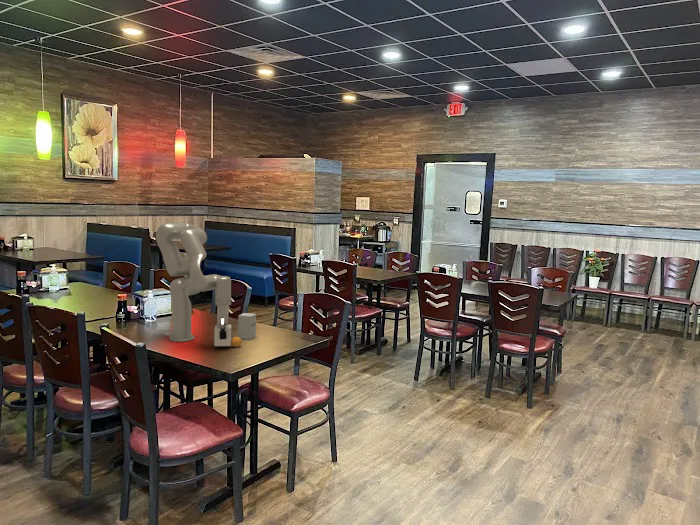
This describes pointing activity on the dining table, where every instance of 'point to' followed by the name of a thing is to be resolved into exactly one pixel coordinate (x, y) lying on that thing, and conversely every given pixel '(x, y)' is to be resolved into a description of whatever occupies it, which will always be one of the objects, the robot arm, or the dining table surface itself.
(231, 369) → the dining table surface
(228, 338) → the gray block
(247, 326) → the supplement box
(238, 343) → the ball
